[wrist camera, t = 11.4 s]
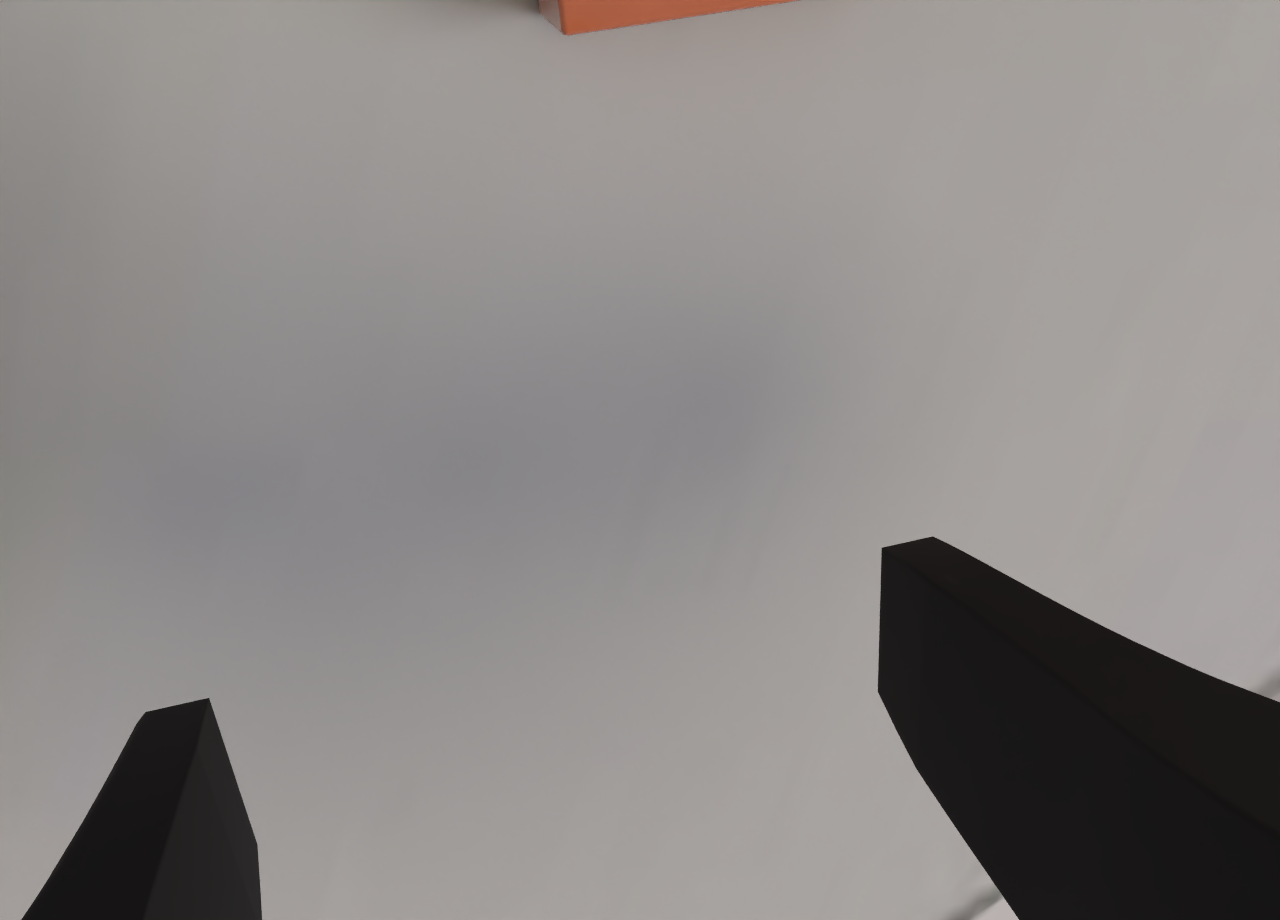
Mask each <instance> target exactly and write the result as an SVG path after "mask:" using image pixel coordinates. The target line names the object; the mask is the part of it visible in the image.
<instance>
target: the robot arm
mask: <svg viewBox="0 0 1280 920" xmlns="http://www.w3.org/2000/svg"><path fill="white" fill-rule="evenodd" d="M878 693H879V695H880V697H881V699H882V701H883V703H884V705H885V707H886V709H887V711H888V713H889V716H890V718H891V720H892V722H893V724H894V726H895V728H896V730H897V732H898V734H899V736H900V738H901V740H902V742H903V744H904V746H905V748H906V750H907V751H908V753H909V755H910V757H911V759H912V761H913V763H914V765H915V767H916V769H917V770H918V772H919V773H920V775H921V776H922V778H923V779H924V781H925V782H926V784H927V785H928V787H929V788H930V790H931V791H932V793H933V794H934V796H935V797H936V799H937V800H938V802H939V803H940V805H941V806H942V808H943V809H944V811H945V812H946V814H947V815H948V817H949V818H950V820H951V821H952V823H953V824H954V825H955V827H956V828H957V830H958V831H959V833H960V834H961V836H962V837H963V839H964V840H965V841H966V843H967V844H968V846H969V847H970V849H971V850H972V852H973V853H974V855H975V856H976V857H977V859H978V860H979V862H980V863H981V865H982V866H983V868H984V869H985V871H986V872H987V873H988V875H989V876H990V878H991V879H992V881H993V882H994V884H995V885H996V887H997V888H998V889H999V891H1000V892H1001V894H1002V895H1003V897H1004V898H1005V900H1006V901H1007V903H1008V904H1009V905H1010V907H1011V908H1012V910H1013V911H1014V913H1015V914H1016V916H1017V917H1018V919H1019V920H1280V702H1277V701H1275V700H1272V699H1270V698H1267V697H1264V696H1262V695H1259V694H1256V693H1254V692H1251V691H1248V690H1246V689H1243V688H1240V687H1238V686H1235V685H1233V684H1230V683H1227V682H1225V681H1222V680H1220V679H1217V678H1215V677H1212V676H1210V675H1208V674H1205V673H1203V672H1200V671H1198V670H1196V669H1193V668H1191V667H1189V666H1186V665H1184V664H1182V663H1180V662H1178V661H1175V660H1173V659H1171V658H1169V657H1167V656H1164V655H1162V654H1160V653H1158V652H1156V651H1154V650H1151V649H1149V648H1147V647H1145V646H1143V645H1140V644H1138V643H1136V642H1134V641H1132V640H1130V639H1128V638H1126V637H1124V636H1122V635H1120V634H1118V633H1116V632H1114V631H1111V630H1109V629H1107V628H1105V627H1103V626H1101V625H1099V624H1097V623H1095V622H1094V621H1092V620H1090V619H1088V618H1086V617H1084V616H1082V615H1080V614H1078V613H1076V612H1074V611H1072V610H1070V609H1068V608H1066V607H1065V606H1063V605H1061V604H1059V603H1057V602H1055V601H1053V600H1051V599H1050V598H1048V597H1046V596H1044V595H1042V594H1040V593H1038V592H1036V591H1035V590H1033V589H1031V588H1029V587H1027V586H1025V585H1024V584H1022V583H1020V582H1018V581H1016V580H1014V579H1013V578H1011V577H1009V576H1007V575H1005V574H1003V573H1002V572H1000V571H998V570H996V569H994V568H993V567H991V566H989V565H987V564H985V563H983V562H981V561H980V560H978V559H976V558H974V557H972V556H970V555H969V554H967V553H965V552H963V551H961V550H959V549H957V548H955V547H953V546H951V545H949V544H947V543H945V542H943V541H941V540H939V539H937V538H935V537H929V538H924V539H920V540H915V541H911V542H906V543H902V544H897V545H893V546H888V547H884V548H882V560H881V597H880V634H879V670H878ZM22 920H262V911H261V893H260V878H259V863H258V849H257V842H256V839H255V836H254V833H253V830H252V827H251V824H250V821H249V818H248V815H247V812H246V809H245V806H244V803H243V800H242V797H241V794H240V791H239V788H238V785H237V782H236V779H235V776H234V772H233V769H232V766H231V763H230V760H229V757H228V754H227V751H226V748H225V745H224V742H223V739H222V736H221V733H220V730H219V727H218V724H217V721H216V718H215V715H214V712H213V709H212V706H211V703H210V700H209V698H207V699H202V700H198V701H193V702H189V703H184V704H180V705H175V706H171V707H166V708H162V709H157V710H153V711H148V712H145V714H144V715H143V716H142V717H141V719H140V720H139V721H138V723H137V724H136V726H135V728H134V730H133V732H132V734H131V735H130V737H129V739H128V741H127V743H126V745H125V747H124V748H123V750H122V752H121V754H120V756H119V758H118V760H117V762H116V763H115V765H114V767H113V769H112V771H111V773H110V774H109V776H108V778H107V780H106V782H105V784H104V785H103V787H102V789H101V791H100V792H99V794H98V796H97V798H96V800H95V801H94V803H93V805H92V807H91V808H90V810H89V812H88V814H87V815H86V817H85V819H84V821H83V822H82V824H81V826H80V827H79V829H78V831H77V832H76V834H75V836H74V837H73V839H72V841H71V842H70V844H69V846H68V847H67V849H66V850H65V852H64V854H63V855H62V857H61V859H60V860H59V862H58V864H57V865H56V867H55V869H54V870H53V872H52V874H51V875H50V877H49V879H48V880H47V882H46V883H45V885H44V887H43V888H42V890H41V891H40V893H39V894H38V896H37V897H36V899H35V900H34V902H33V903H32V905H31V906H30V908H29V909H28V911H27V912H26V914H25V915H24V917H23V918H22Z"/></svg>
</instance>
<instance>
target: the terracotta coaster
mask: <svg viewBox="0 0 1280 920" xmlns="http://www.w3.org/2000/svg"><path fill="white" fill-rule="evenodd" d="M793 1H800V0H538V4H539V11H540V14H541V16H542V17H544V18H545V19H546V20H547V21H548V22H549V23H551V24H552V25H553V26H554V27H555V28H556V29H558V30H559V31H560V32H561V33H562V34H564V35H567V36H569V35H576V34H582V33H589V32H595V31H602V30H609V29H615V28H622V27H628V26H635V25H642V24H648V23H655V22H661V21H668V20H675V19H681V18H688V17H694V16H701V15H708V14H714V13H721V12H727V11H734V10H740V9H747V8H754V7H760V6H767V5H773V4H780V3H787V2H793Z"/></svg>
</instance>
